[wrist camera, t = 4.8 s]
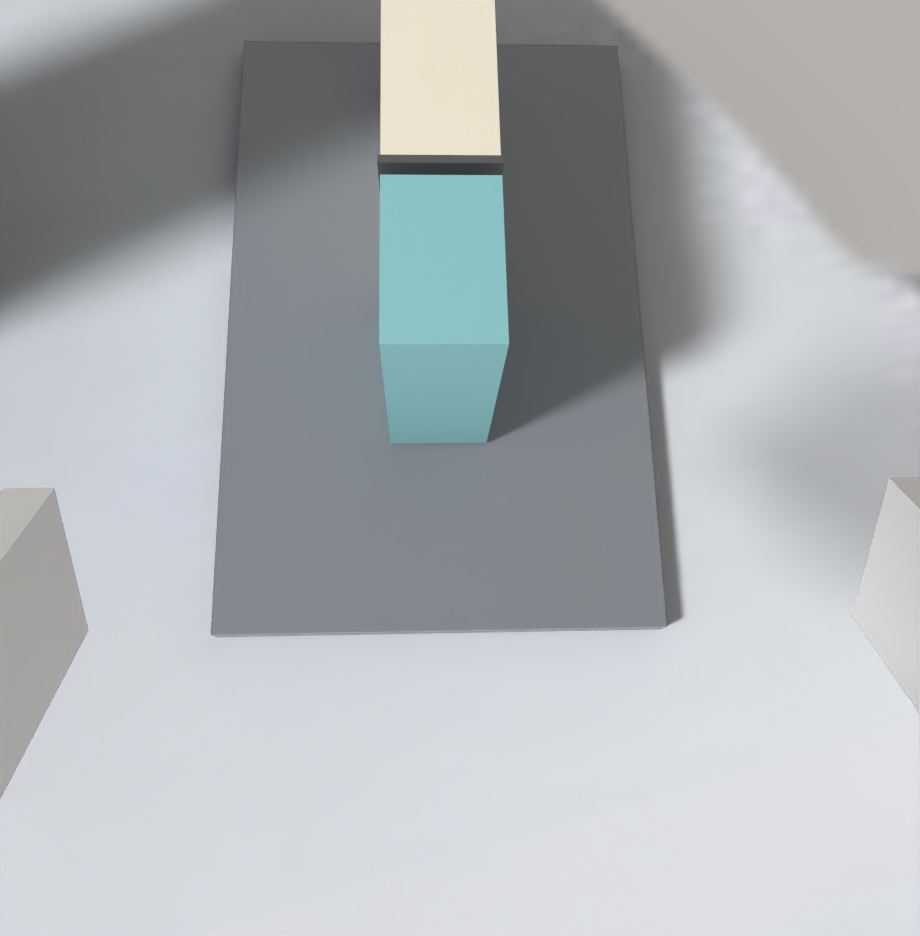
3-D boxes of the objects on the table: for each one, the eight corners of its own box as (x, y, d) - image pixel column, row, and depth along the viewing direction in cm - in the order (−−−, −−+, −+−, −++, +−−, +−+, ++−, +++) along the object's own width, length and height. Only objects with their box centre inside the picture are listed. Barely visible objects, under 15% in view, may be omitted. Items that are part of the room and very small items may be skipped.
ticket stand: (660, 629, 36) (758, 590, 26) (216, 636, 35) (128, 600, 25) (612, 60, 44) (672, -149, 33) (248, 56, 43) (191, -160, 33)
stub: (486, 442, 37) (509, 344, 27) (390, 443, 37) (379, 344, 27) (482, 311, 38) (502, 175, 29) (390, 311, 38) (379, 174, 29)
